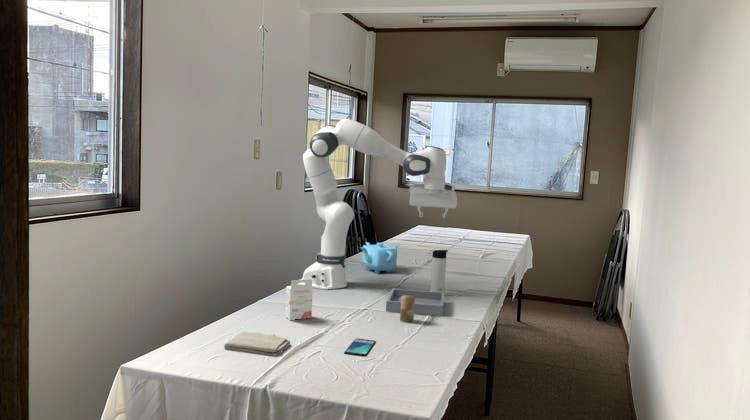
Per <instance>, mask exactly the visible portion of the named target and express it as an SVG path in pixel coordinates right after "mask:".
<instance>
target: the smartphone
mask: <svg viewBox="0 0 750 420" xmlns="http://www.w3.org/2000/svg"><path fill="white" fill-rule="evenodd" d="M376 344H377V341H376V340H374V339H373V340H370V339H366V338H365V339H364V338H355V339H353V341H352V343H351V344H349V346H348V347H347V348H346V349H345V351H344V352H343V354H345V355H348V356H349V355H350V356H355V357H367V356H368V354H369V353H370V351H371V350H372V349H373V347H374V346H375V345H376Z"/></svg>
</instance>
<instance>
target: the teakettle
mask: <svg viewBox="0 0 750 420" xmlns="http://www.w3.org/2000/svg"><path fill="white" fill-rule="evenodd" d="M398 247H400V244H395V245H393V246H389V245H385V244H384V242H376V244H371V243H370V242H367V241H365V245H362V247H361V246H360V247H359V249H361V250H362V257H361V259H362V260H361V266H362V267H364V268H366V271H369V272H371V271H373V273H374V274H380V273H381V272H382V271H385V273H388V274H389V273H392V271H393V270H397V263H398Z"/></svg>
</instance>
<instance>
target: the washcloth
mask: <svg viewBox="0 0 750 420" xmlns="http://www.w3.org/2000/svg"><path fill="white" fill-rule="evenodd" d="M289 344H290V345H291V340H289V339H288V337H283V336H279V335H276V334H274V333H270V334H269V333H261V332H250V331H241V332H239V333H238V334H236V335H235V337H233V338H231V339H230V340H228V341H226V342H225V343H224V345H223V348H224V349H225V350H230V349H233V350H232V351H237V350H241V351H240V352H243V351H248V352H247V353H252V352H256V353H255V354H260V353H264V354H263V355H266V354H269V355H268V356H273V355H276V356H277V355H279V354H278V353H280V352H281V351H282V350H283V349H284V348H285V349H286V347H287V346H288V345H289ZM290 345H289V346H290ZM289 346H288V347H289ZM288 347H287V348H288ZM285 349H284V350H285ZM284 350H283V351H284ZM283 351H282V352H283ZM282 352H281V353H282ZM281 353H280V354H281Z"/></svg>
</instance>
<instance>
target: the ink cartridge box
mask: <svg viewBox="0 0 750 420" xmlns="http://www.w3.org/2000/svg"><path fill="white" fill-rule="evenodd" d="M301 282H302V283H305V284H304V285H298V283H301ZM285 290H286V291H285V318H286V317H287V318H288V319H287V318H286V319H287V320H289V321H290V320H292V321H296V320H295V319H302V320H307V319H306V318H311V319H312V317H313V316H312V315H313V313H312V310H313V309H312V308H313V288H312V279H308V280H300V279H296V280H295V279H293V280H291V281H290V285H287V286H286V289H285Z"/></svg>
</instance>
